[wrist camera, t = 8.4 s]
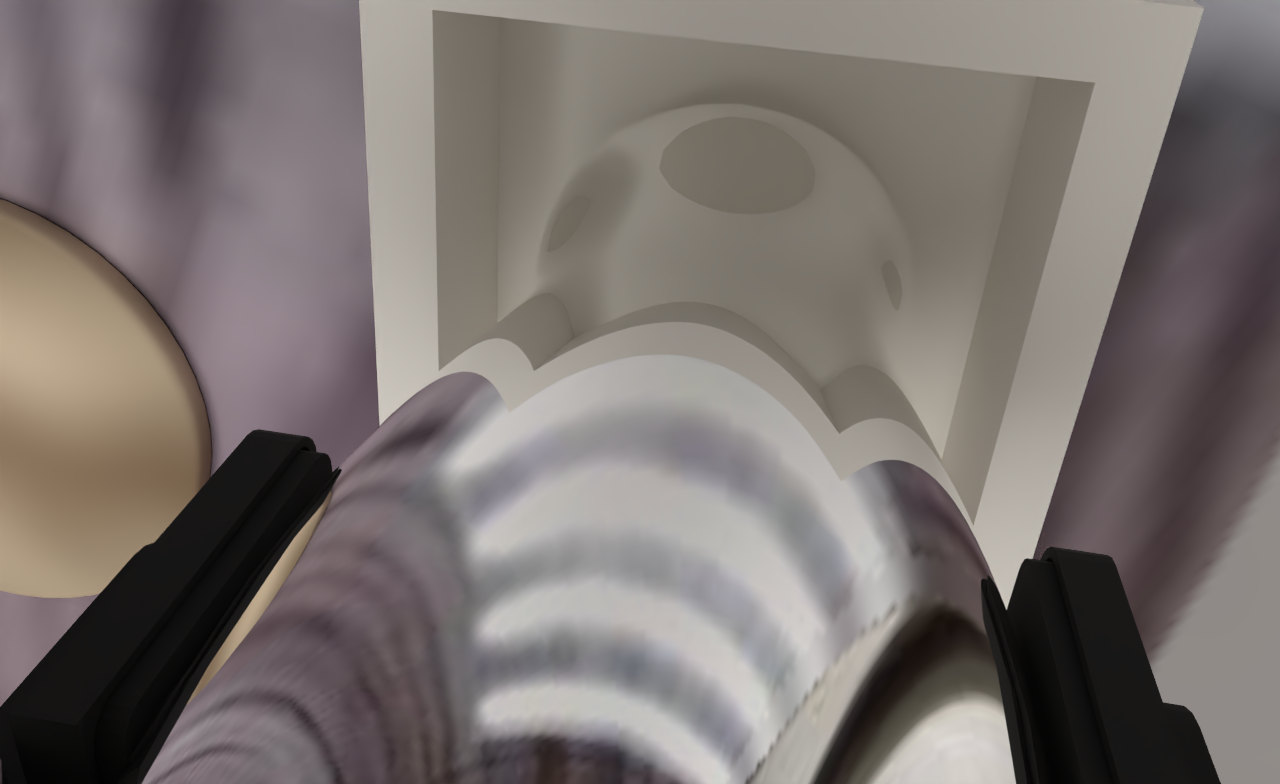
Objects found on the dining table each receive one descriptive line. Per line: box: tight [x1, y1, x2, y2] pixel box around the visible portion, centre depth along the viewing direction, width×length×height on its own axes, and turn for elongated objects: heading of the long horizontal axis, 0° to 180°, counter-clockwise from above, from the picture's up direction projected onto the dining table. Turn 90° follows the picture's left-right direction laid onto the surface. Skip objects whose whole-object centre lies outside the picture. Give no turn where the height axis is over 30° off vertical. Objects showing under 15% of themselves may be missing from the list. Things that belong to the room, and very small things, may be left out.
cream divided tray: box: [359, 0, 1204, 610], centre depth 21 cm, size 21×10×5 cm, turn 176°
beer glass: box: [113, 103, 1054, 784], centre depth 12 cm, size 7×7×15 cm
